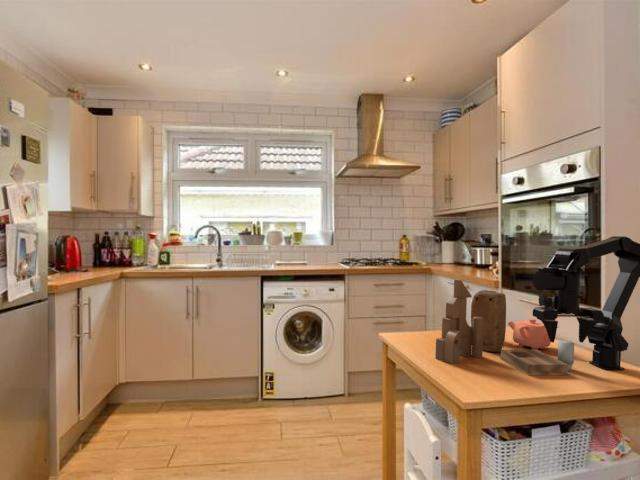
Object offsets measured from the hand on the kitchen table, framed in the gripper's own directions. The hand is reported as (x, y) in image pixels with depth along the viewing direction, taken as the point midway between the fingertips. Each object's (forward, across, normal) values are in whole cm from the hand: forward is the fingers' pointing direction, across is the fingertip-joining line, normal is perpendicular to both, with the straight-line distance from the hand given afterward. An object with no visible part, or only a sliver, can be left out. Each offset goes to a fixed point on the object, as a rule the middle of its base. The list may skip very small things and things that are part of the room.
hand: (566, 342), depth 115 cm
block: (+8, +14, -20) cm, 26 cm away
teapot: (+8, -4, -22) cm, 24 cm away
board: (+8, +9, -2) cm, 12 cm away
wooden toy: (+8, +28, -10) cm, 31 cm away
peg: (+8, 0, 0) cm, 8 cm away
